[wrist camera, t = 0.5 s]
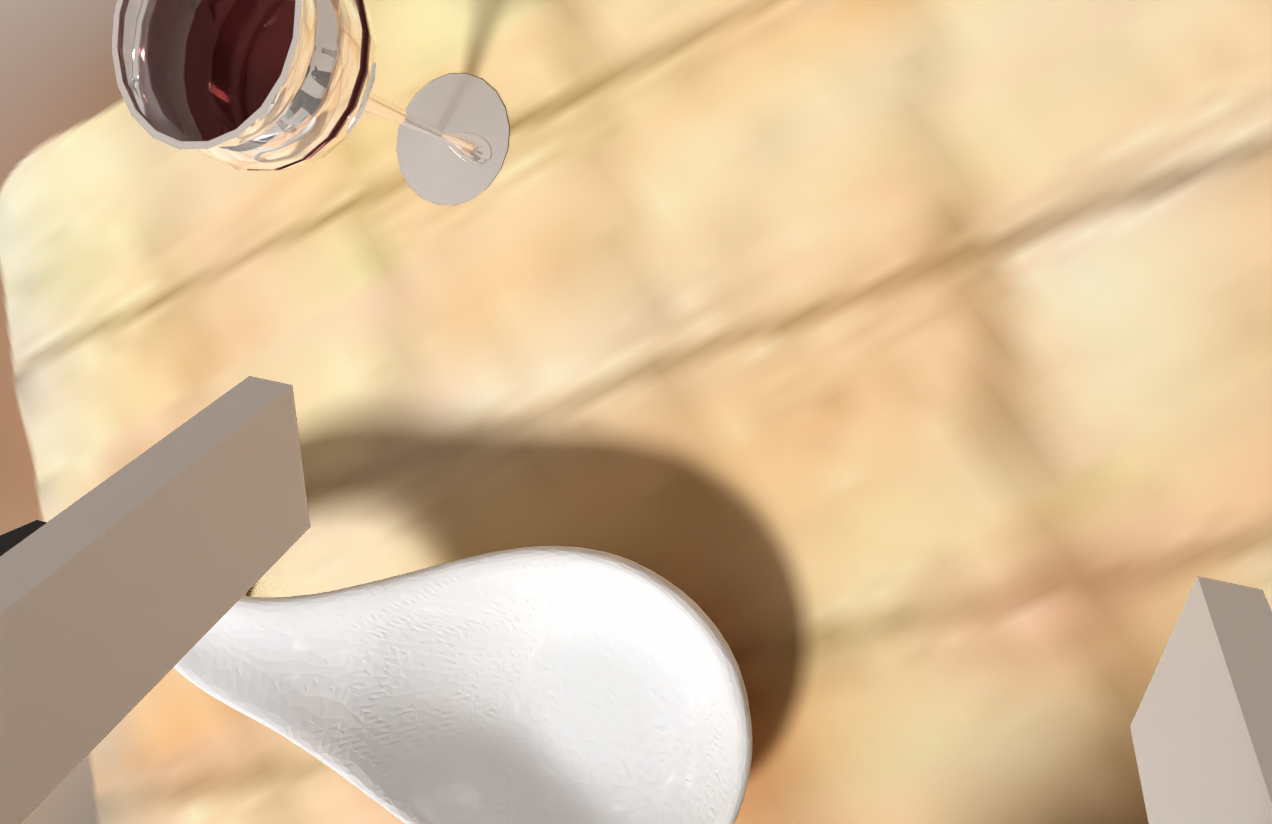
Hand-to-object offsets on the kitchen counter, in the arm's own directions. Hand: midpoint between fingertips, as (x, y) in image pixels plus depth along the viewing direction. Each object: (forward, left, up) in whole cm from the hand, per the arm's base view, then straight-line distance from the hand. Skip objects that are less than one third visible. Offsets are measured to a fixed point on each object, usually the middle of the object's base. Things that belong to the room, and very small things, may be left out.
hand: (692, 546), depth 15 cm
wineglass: (+16, +12, -18) cm, 27 cm away
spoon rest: (-3, +16, -19) cm, 25 cm away
